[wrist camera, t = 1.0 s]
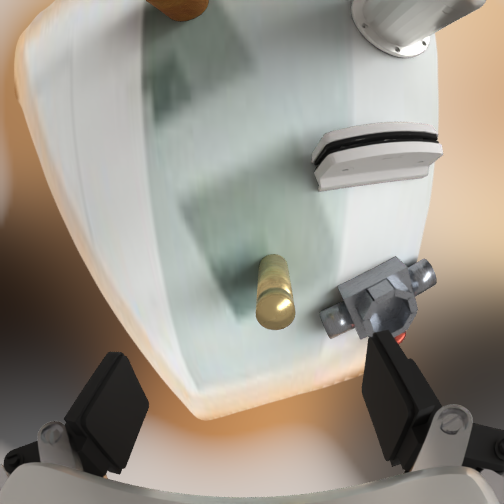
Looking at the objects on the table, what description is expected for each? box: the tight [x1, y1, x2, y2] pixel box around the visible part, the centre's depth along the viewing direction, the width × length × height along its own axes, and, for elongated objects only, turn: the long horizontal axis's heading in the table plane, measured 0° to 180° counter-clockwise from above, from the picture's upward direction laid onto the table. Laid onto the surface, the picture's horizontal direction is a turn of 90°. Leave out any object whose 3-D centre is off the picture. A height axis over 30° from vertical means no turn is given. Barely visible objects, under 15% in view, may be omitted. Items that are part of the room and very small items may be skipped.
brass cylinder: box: [256, 254, 295, 330], centre depth 34 cm, size 4×4×12 cm
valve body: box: [319, 256, 436, 345], centre depth 37 cm, size 18×12×7 cm, turn 118°
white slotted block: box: [312, 122, 443, 192], centre depth 30 cm, size 17×5×10 cm, turn 101°
